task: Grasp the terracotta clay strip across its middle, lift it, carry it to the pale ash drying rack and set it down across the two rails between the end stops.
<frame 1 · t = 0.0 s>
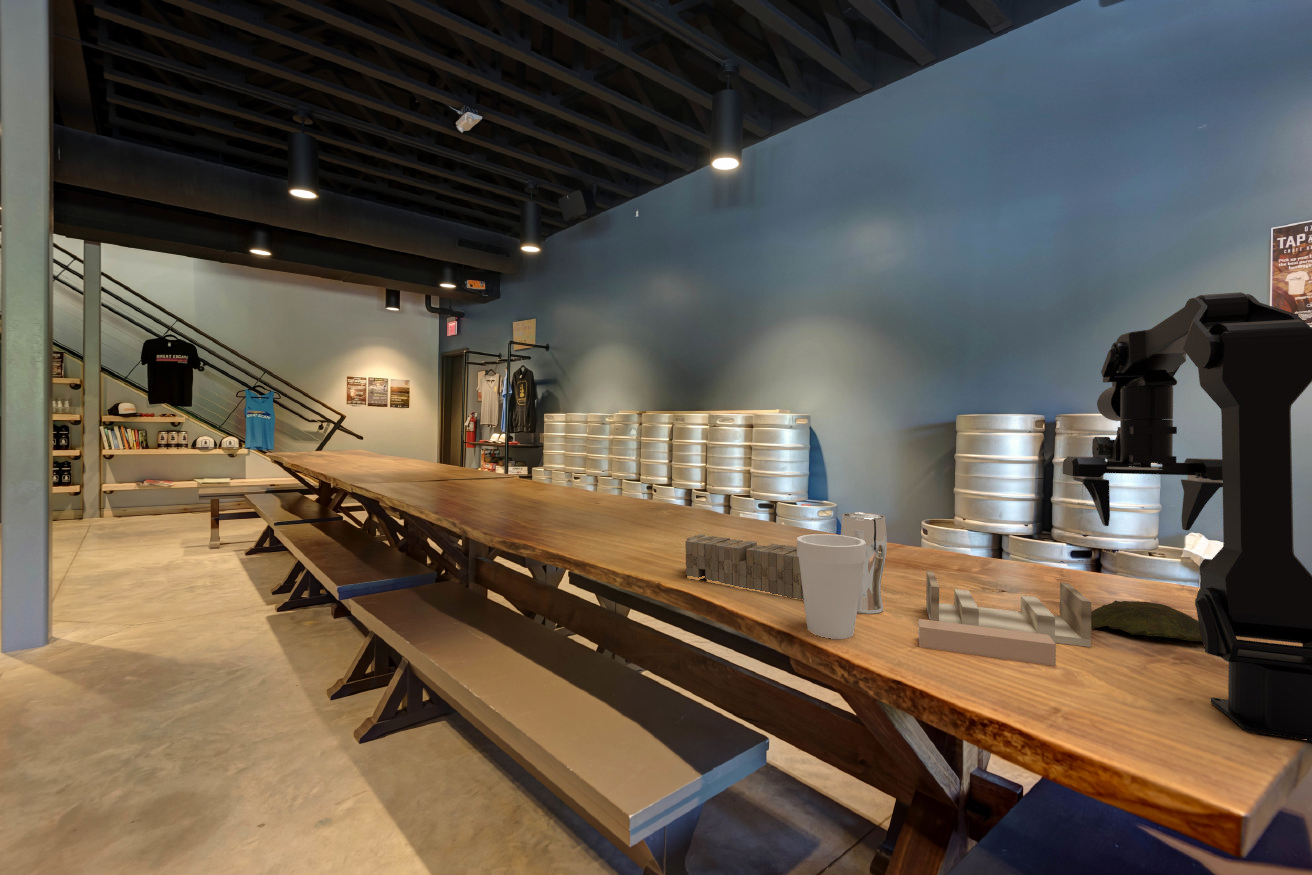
hand: (1144, 527, 81), 15 cm above the table, tool pointing down, fingers open, 9 cm apart
drying rack: (1000, 625, 82), on the table
foam cup: (830, 632, 80), on the table
pottery fragment: (1141, 631, 81), on the table
block tower: (755, 587, 103), on the table
clay strip: (982, 653, 72), on the table
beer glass: (862, 609, 90), on the table
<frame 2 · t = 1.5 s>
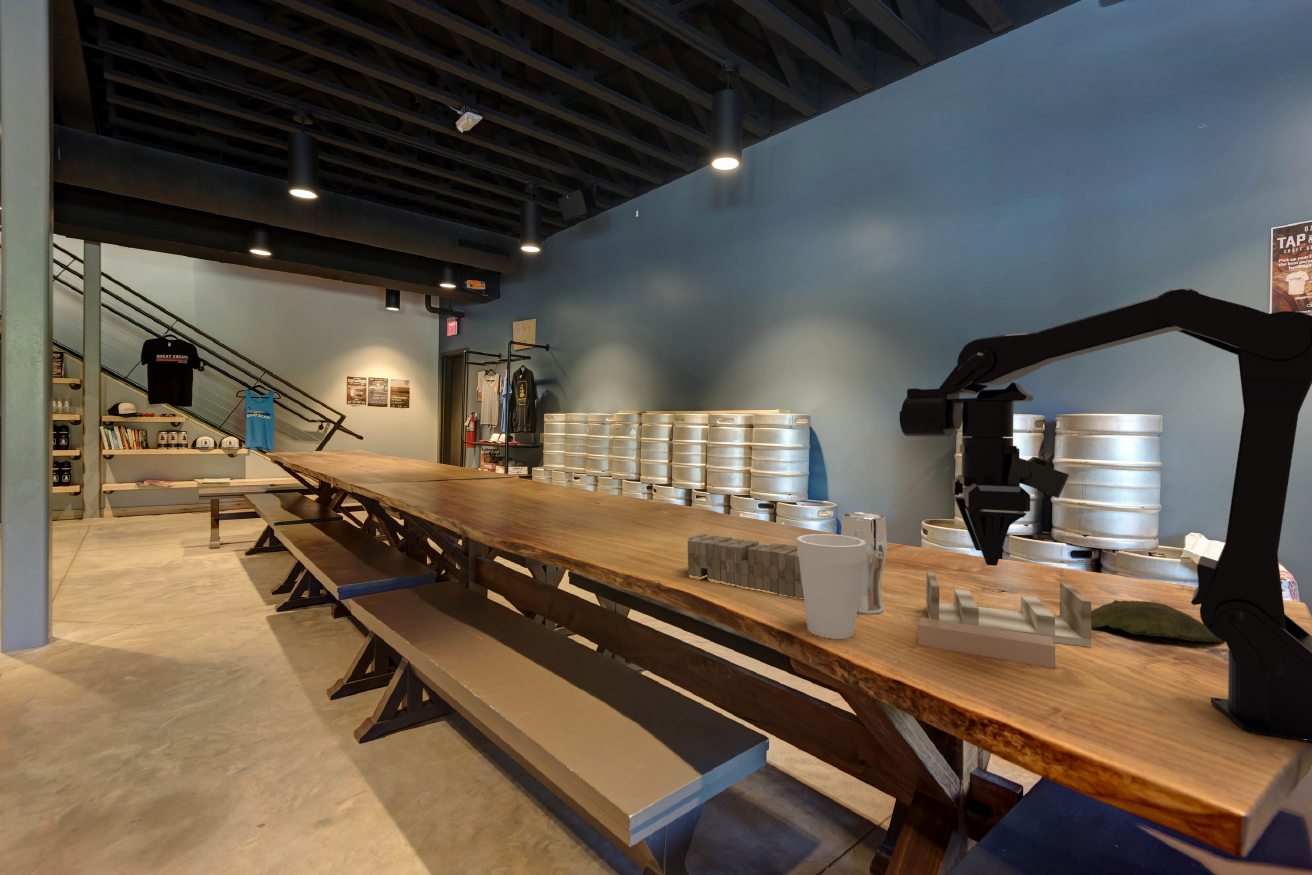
hand: (985, 557, 73), 12 cm above the table, tool pointing down, fingers open, 9 cm apart
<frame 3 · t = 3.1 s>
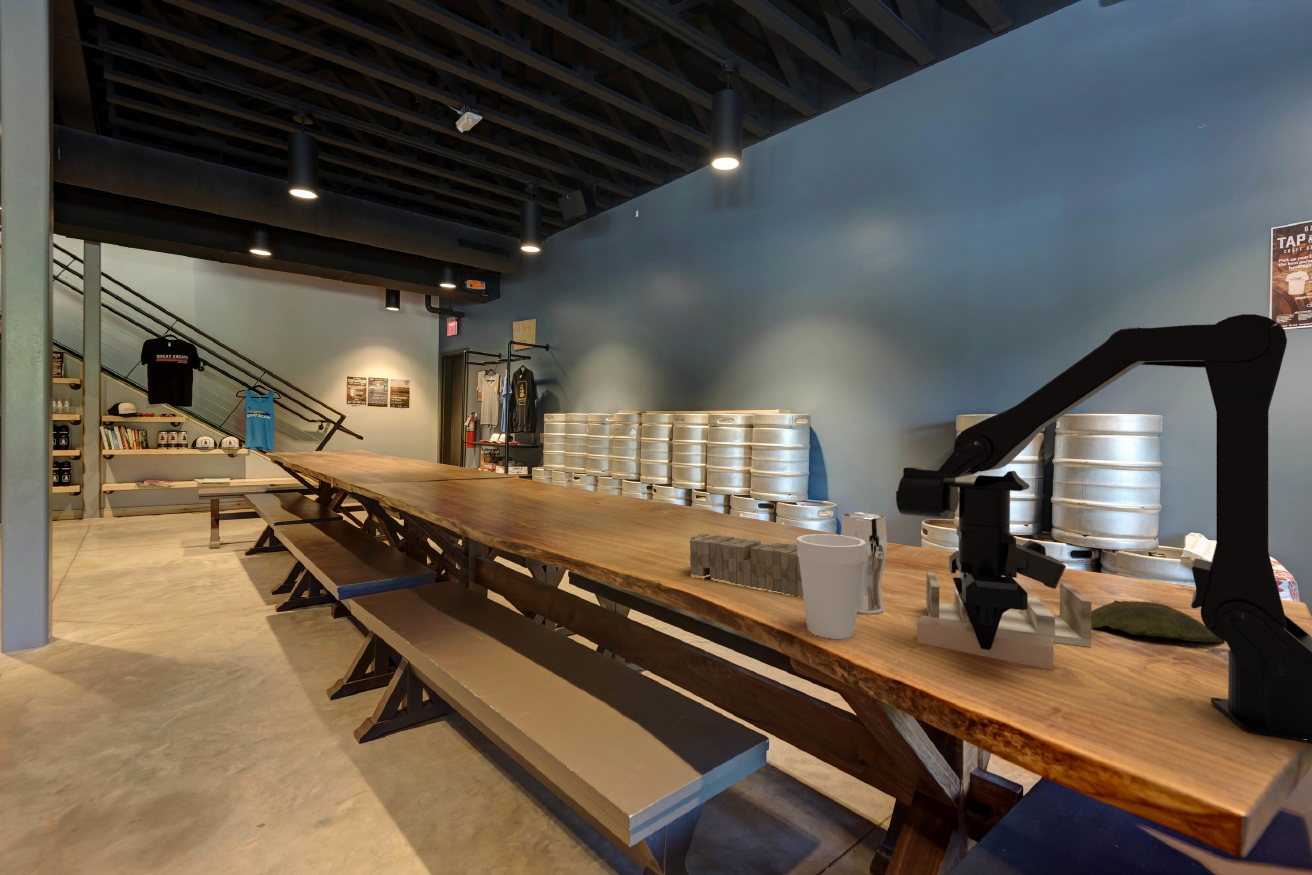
hand: (982, 642, 72), 1 cm above the table, tool pointing down, fingers closed on clay strip, 4 cm apart
clay strip: (982, 652, 72), on the table, touching gripper
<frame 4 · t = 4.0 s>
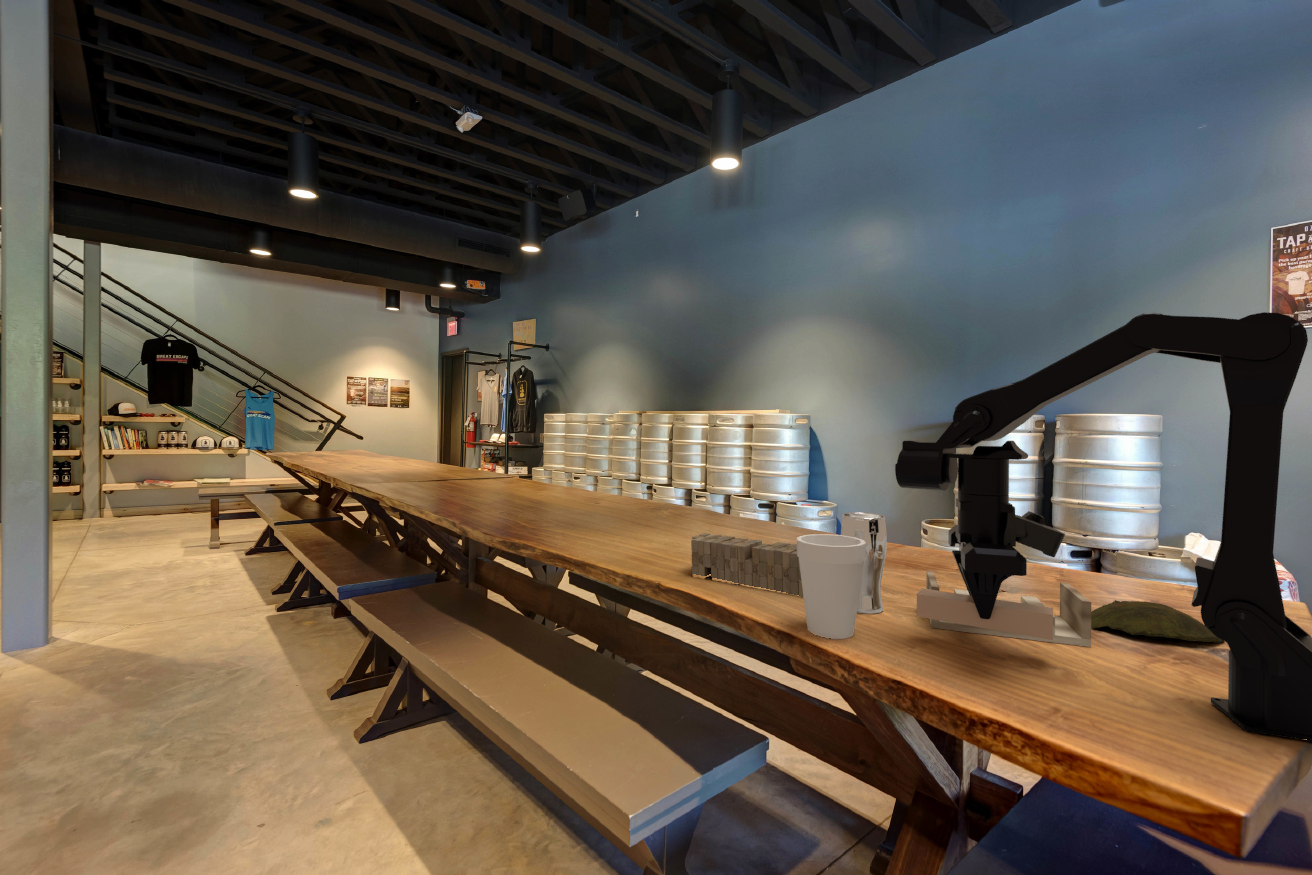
hand: (982, 613, 72), 5 cm above the table, tool pointing down, fingers closed on clay strip, 4 cm apart
clay strip: (982, 623, 72), point 4 cm above the table, touching gripper
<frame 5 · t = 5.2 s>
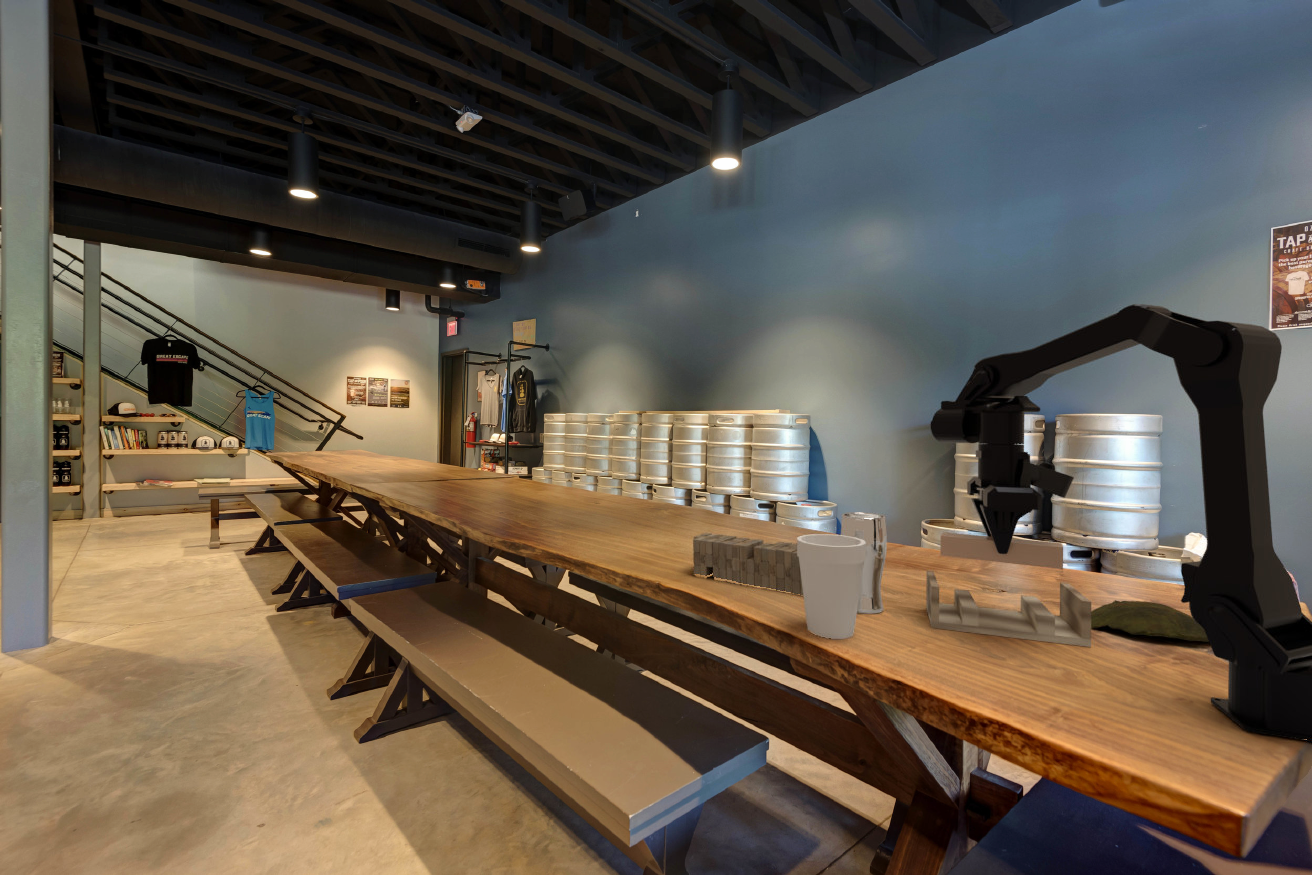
hand: (999, 550, 82), 11 cm above the table, tool pointing down, fingers closed on clay strip, 4 cm apart
clay strip: (998, 559, 82), point 10 cm above the table, touching gripper
when the fingers open (5 cm above the table, at t = 6.5 s): clay strip stays where it is, resting on drying rack.
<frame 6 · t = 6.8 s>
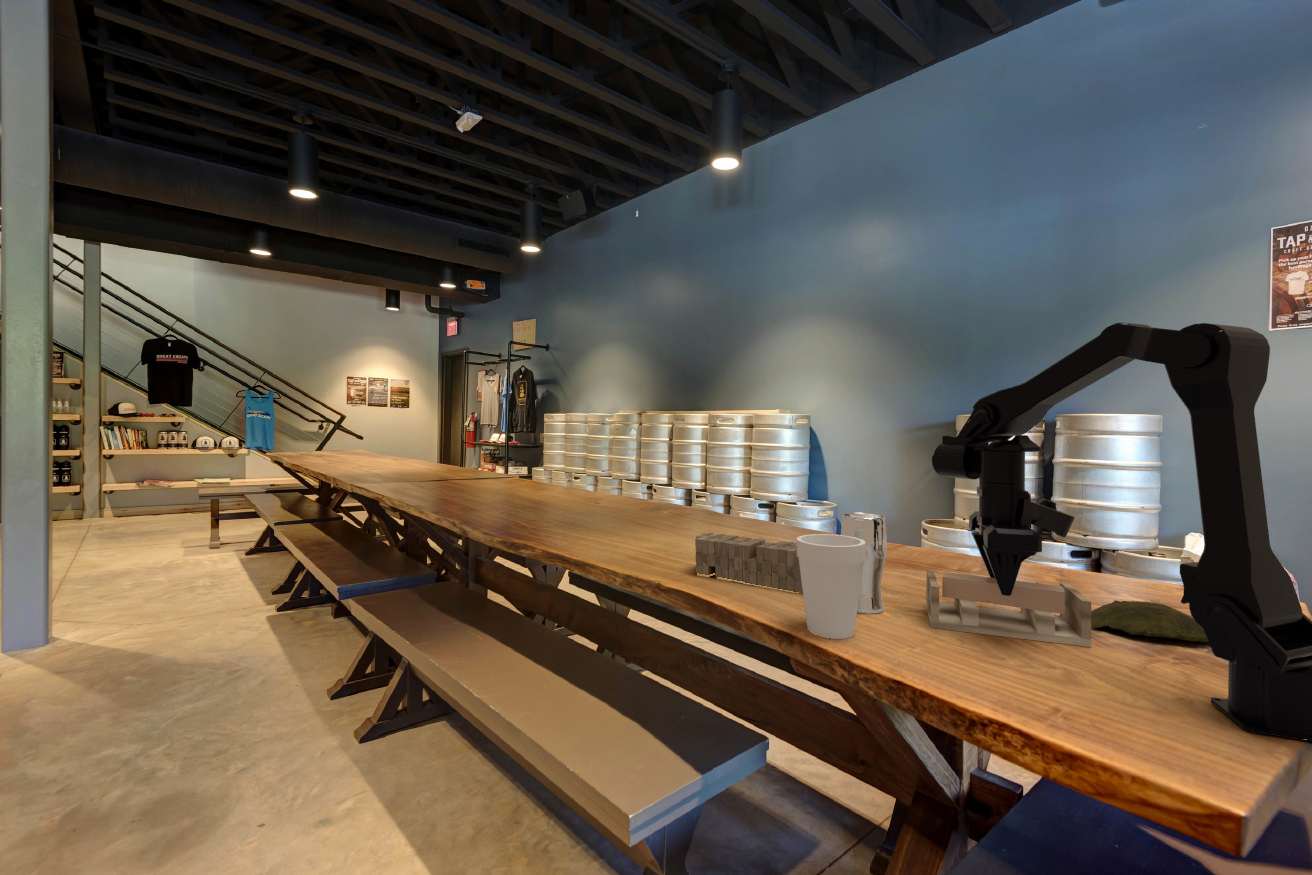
hand: (1000, 588, 82), 5 cm above the table, tool pointing down, fingers open, 7 cm apart
clay strip: (1000, 601, 82), point 3 cm above the table, touching drying rack
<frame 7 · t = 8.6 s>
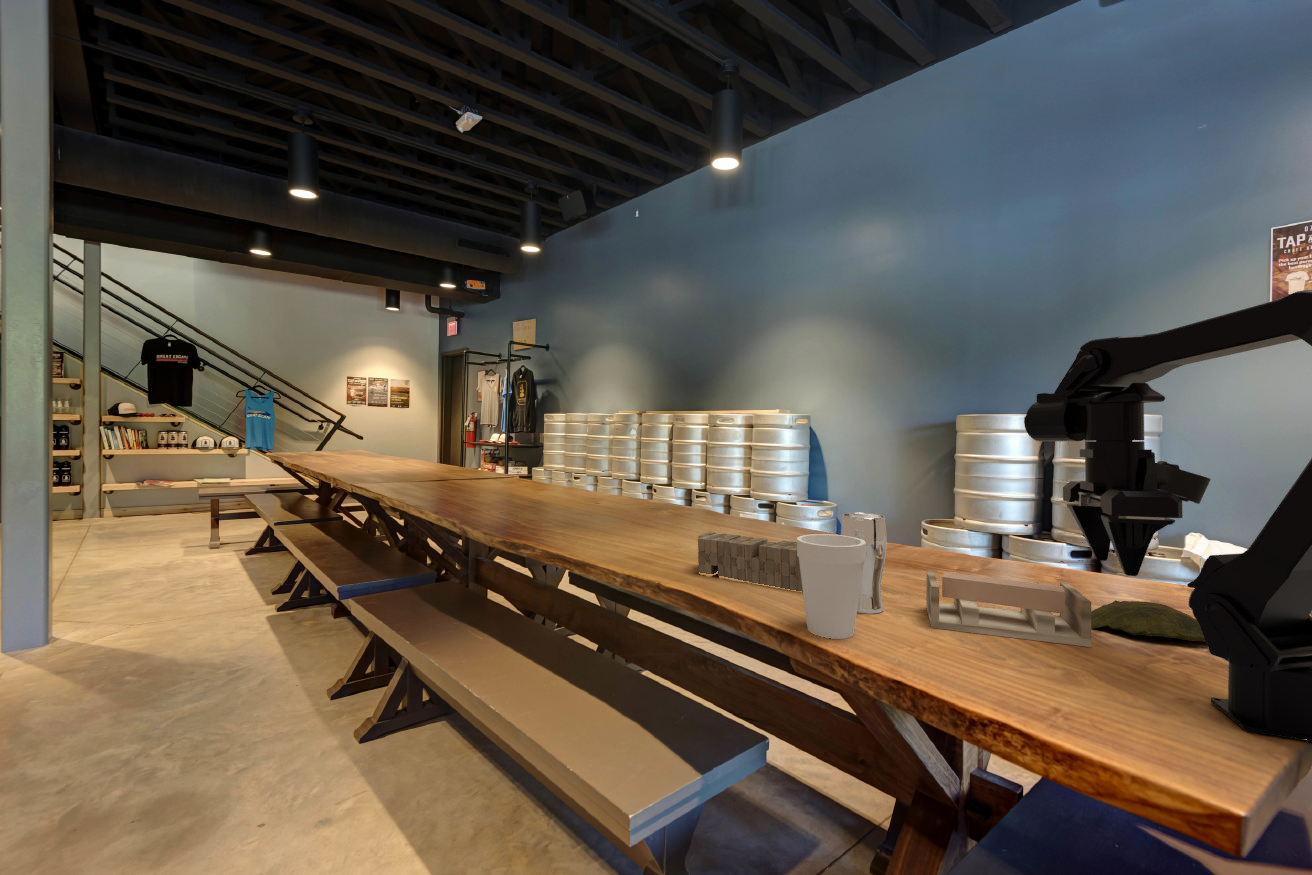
hand: (1115, 567, 69), 12 cm above the table, tool pointing down, fingers open, 9 cm apart
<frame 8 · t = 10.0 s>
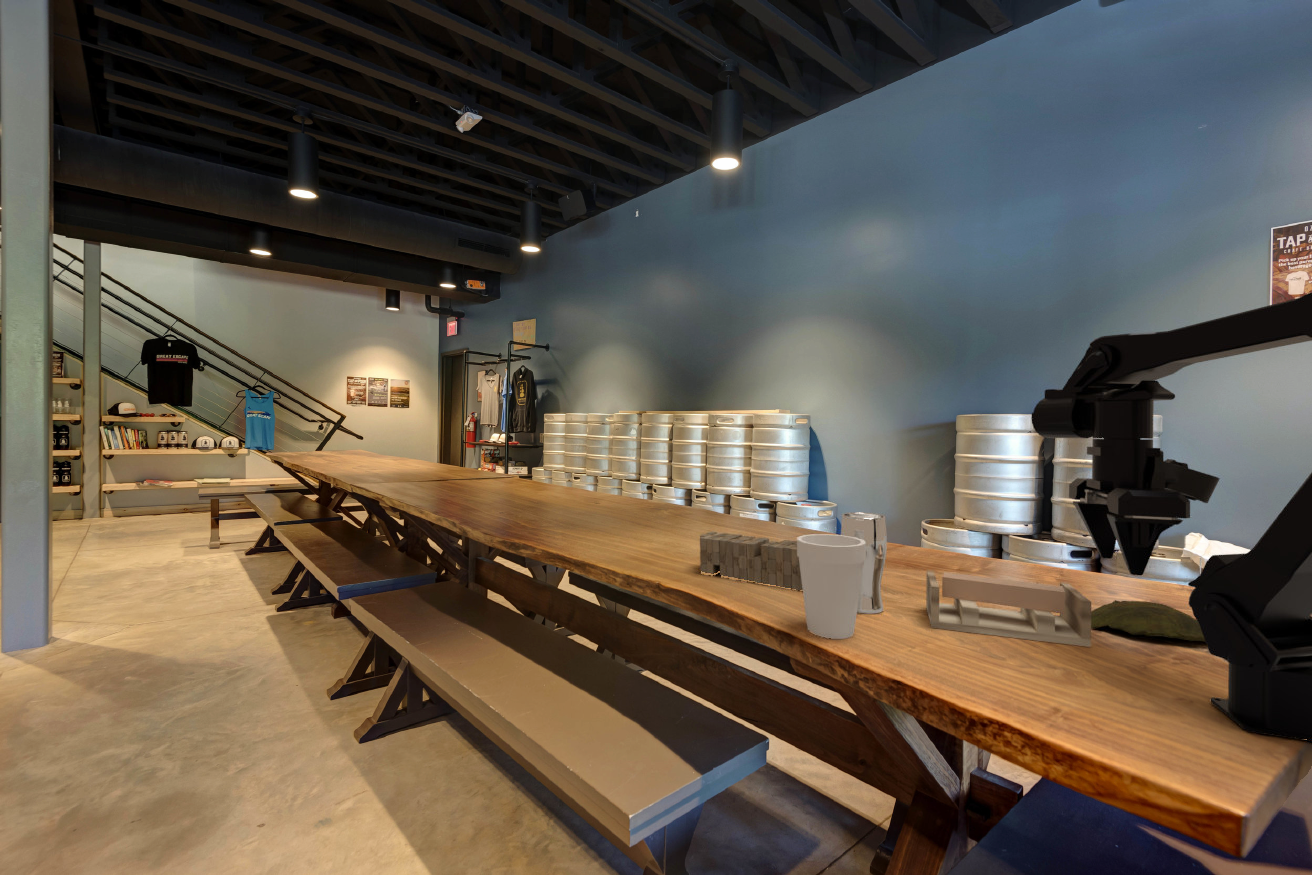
hand: (1120, 565, 68), 12 cm above the table, tool pointing down, fingers open, 9 cm apart
at the end: clay strip inside the target area on the drying rack (0.1 cm from its centre), point 3.5 cm above the drying rack's base; clay strip tilted 0°; the gripper is holding nothing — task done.
